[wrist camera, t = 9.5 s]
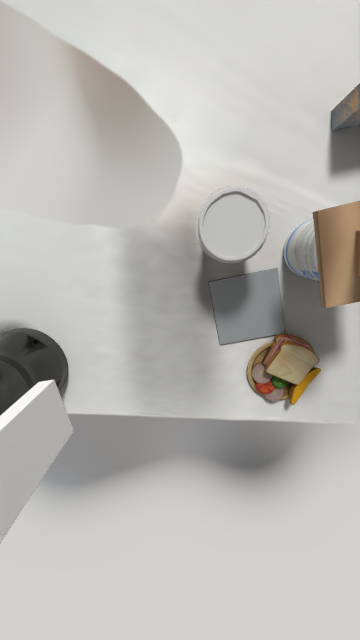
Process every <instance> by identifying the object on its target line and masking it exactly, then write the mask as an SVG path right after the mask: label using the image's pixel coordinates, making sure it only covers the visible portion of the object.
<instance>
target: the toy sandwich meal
mask: <svg viewBox="0 0 360 640" xmlns="http://www.w3.org/2000/svg"><path fill="white" fill-rule="evenodd" d="M318 362H319V359H318V357H317V356H316V354H315V353H314V351H313V348H312V347H311V345H310V344H309V343H307V342H306V341H305V340H303V339H301V338H299V337H296V336H292V335H287V334H278V335H276V336H275V338H274V341H272V342H269V343H267V344H265V345H263V346H262V347H260V348H259V349H258V350H257V351H256V352H255V353H254V354H253V356H252V357H251V359H250V361H249V364H248V368H247V376H248V380H249V383H250V385H251V386H252V388H253V389H254V390H255V391H256V392H257V393H259V394H260V395H262V396H264V397H266V398H267V399H268V400H270V401H278V400H281V399H287V398H290V403H291V404H292V405H294V404H295V403H296V401H297V400H298V399H299V397H300V396H301V395H302V393H303V392H304V390H305V389H306V387H307V386H308V385H309V384H310V382H311V381H312V380H313V379H314V378H315V377H316V376H317V375H318V373H319V372H320V371H321V369H319V368H314V365H316V364H317V363H318Z"/></svg>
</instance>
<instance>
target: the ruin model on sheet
mask: <svg viewBox="0 0 360 640" xmlns="http://www.w3.org/2000/svg"><path fill="white" fill-rule="evenodd" d="M331 122H332V131H335V130H339V129H343V128H347V127H351V126H355V125H359V124H360V84H359V85H358V86H357V87H356V88H355V89H354V90H352V91H351V92H350V93H349V94H348V95H347V96H346V97H345V98H344V99H343V100H342V101H341V102H340V103H339V104H338V105H337V106H336V107H335V108H334V109H333V110H332V111H331Z"/></svg>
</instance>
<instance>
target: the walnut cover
mask: <svg viewBox="0 0 360 640" xmlns="http://www.w3.org/2000/svg"><path fill="white" fill-rule="evenodd" d="M313 221H314V232H315V243H316V254H317V265H318V276H319V287H320V298H321V306H322V307H324V308H330V307H335V306H340V305H345V304H350V303H355V302H360V201H357V202H353V203H349V204H345V205H340V206H336V207H332V208H328V209H324V210H320V211H316V212H313Z"/></svg>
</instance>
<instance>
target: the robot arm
mask: <svg viewBox="0 0 360 640" xmlns="http://www.w3.org/2000/svg"><path fill="white" fill-rule="evenodd" d="M67 371H68V366H67V361H66V357H65V355H64V353H63V351H62V349H61V348H60V346H59V345H58V344H57V343H56V342H55V341H54V340H53V339H52V338H50V337H49V336H48V335H46V334H44V333H42V332H40V331H37V330H33V329H27V328H21V329H15V330H12V331H10V332H8V333H5V334H3V335H1V336H0V543H1V541H2V540H3V538H4V537H5V535H6V534H7V532H8V530H9V529H10V527H11V526H12V524H13V523H14V521H15V520H16V518H17V516H18V515H19V514H20V512H21V510H22V509H23V507H24V506H25V504H26V503H27V501H28V500H29V498H30V497H31V495H32V494H33V492H34V491H35V489H36V488H37V486H38V484H39V483H40V481H41V480H42V478H43V477H44V475H45V474H46V472H47V470H48V469H49V467H50V466H51V465H52V463H53V461H54V460H55V458H56V457H57V455H58V454H59V452H60V451H61V449H62V448H63V446H64V445H65V443H66V441H67V440H68V438H69V437H70V435H71V434H72V432H73V428H72V425H71V423H70V420H69V417H68V415H67V412H66V409H65V407H64V404H63V401H62V399H61V396H60V393H59V391H58V390H59V389H60V388H61V386H62V385H63V384H64V382H65V380H66V377H67Z"/></svg>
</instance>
